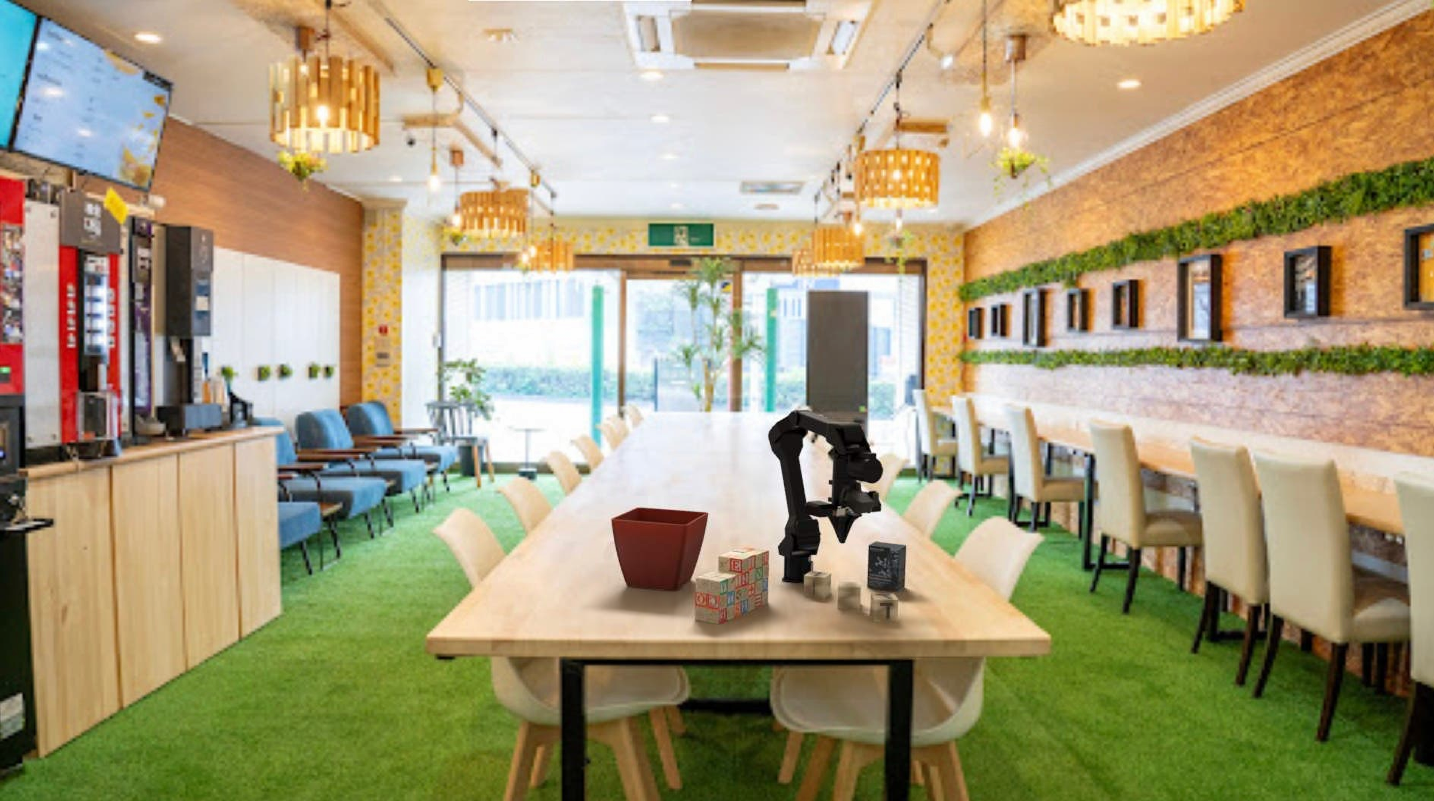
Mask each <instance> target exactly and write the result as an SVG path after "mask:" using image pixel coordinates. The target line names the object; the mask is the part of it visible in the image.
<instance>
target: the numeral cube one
mask: <svg viewBox="0 0 1434 801" xmlns="http://www.w3.org/2000/svg"><path fill="white" fill-rule="evenodd" d="M831 590H832V573H831V572H823V571H815V570H813V571H810V572H809V573H807V574H806V575H804V583H803V596H804V597H810V598H820V599H825V598H827V597H828V596H830V595H831V594H832V591H831Z"/></svg>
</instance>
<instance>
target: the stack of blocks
mask: <svg viewBox="0 0 1434 801" xmlns="http://www.w3.org/2000/svg"><path fill="white" fill-rule="evenodd" d="M717 558H718V561H717V562H718V564H717V569H716V570H714V571H710V572H708V573H705V574H702V575H700V576H697V577H695V592H694V620H696V621H701V622H706V623H710V624H715V625H720V624H722V623H724V622H728V621H730V620H732V619H735V618H737V617H739V616H741V615H743V614H745V613H747V612H749V611H752V610H754V609H757V608H758V607H759V608H760V607H762V606H764V605H765V604H768V603H769V576H770V575H769V573H770V563H769V562H770V550H768V549H761V548H755V547H754V548H753V547H747V546H746V547H743V548H736V549H734V550H732V551H728V552H725V553H723V554H721V555H718V557H717ZM727 620H728V621H727Z"/></svg>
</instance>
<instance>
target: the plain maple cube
mask: <svg viewBox="0 0 1434 801" xmlns="http://www.w3.org/2000/svg"><path fill="white" fill-rule="evenodd" d="M861 590H862V582H858V581H844V580H843V581H841V580H839V581H838V583H837V606H836V607H837V609H842V610H857V611H860V610H861V603H862V602H861V600H862V598H861V597H862V596H861V594H862V593H861V592H862V591H861Z"/></svg>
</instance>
